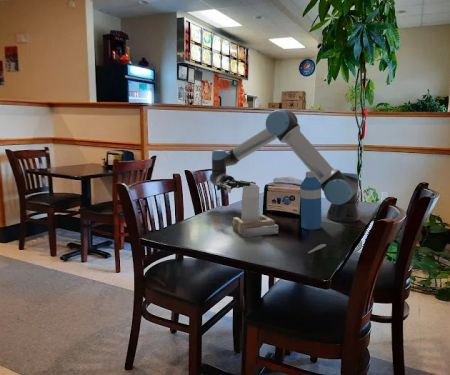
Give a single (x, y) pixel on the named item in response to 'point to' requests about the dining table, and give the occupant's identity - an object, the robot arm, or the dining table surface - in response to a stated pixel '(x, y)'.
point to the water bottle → (310, 202)
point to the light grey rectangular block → (250, 203)
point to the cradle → (251, 223)
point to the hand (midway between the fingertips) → (243, 188)
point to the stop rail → (259, 230)
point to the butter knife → (317, 247)
